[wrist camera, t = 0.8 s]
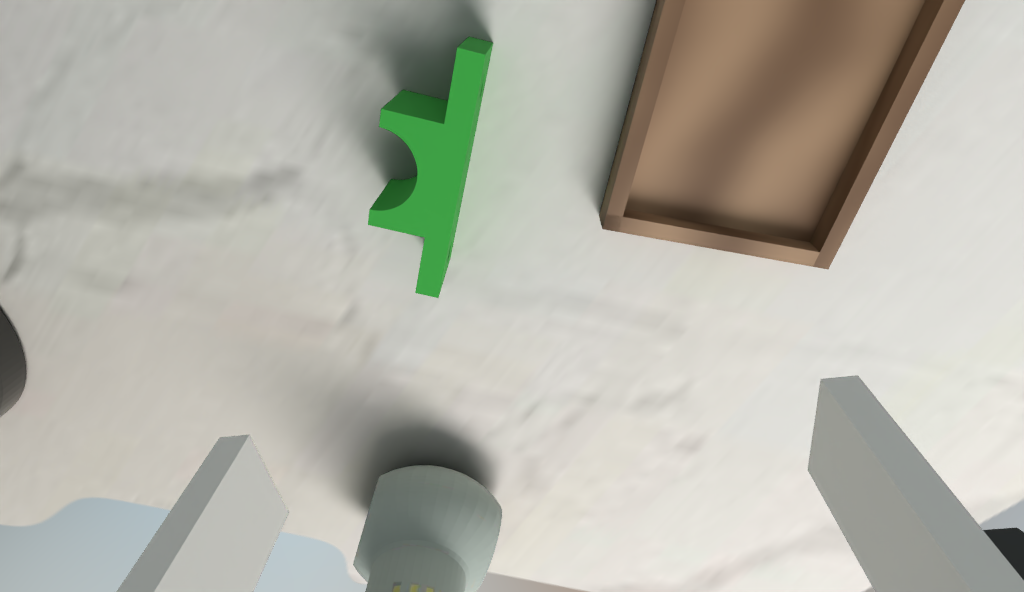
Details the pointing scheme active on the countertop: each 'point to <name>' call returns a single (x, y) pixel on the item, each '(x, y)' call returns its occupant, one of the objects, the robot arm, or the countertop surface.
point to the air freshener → (428, 532)
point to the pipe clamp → (434, 162)
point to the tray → (767, 120)
